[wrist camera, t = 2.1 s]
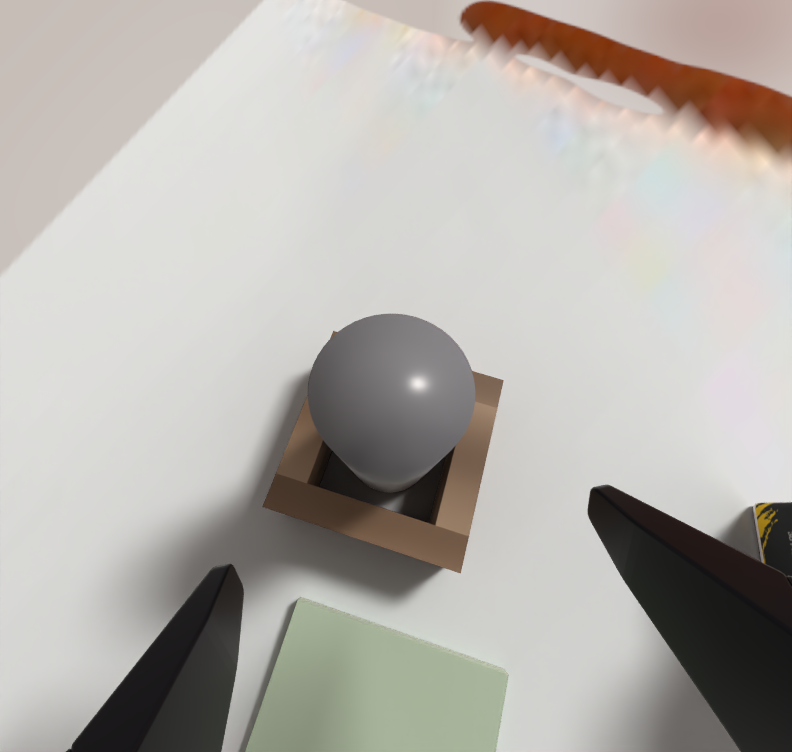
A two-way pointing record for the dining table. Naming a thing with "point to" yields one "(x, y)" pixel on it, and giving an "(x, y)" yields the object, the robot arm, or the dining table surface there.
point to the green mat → (374, 691)
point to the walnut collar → (379, 526)
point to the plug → (391, 398)
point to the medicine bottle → (775, 534)
